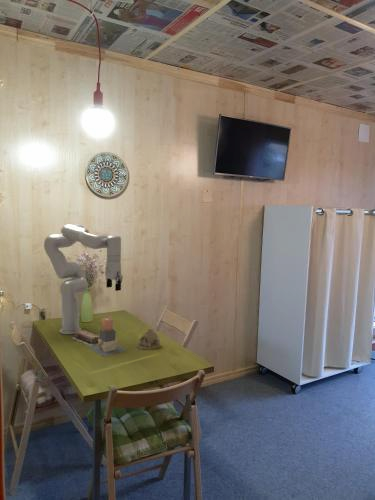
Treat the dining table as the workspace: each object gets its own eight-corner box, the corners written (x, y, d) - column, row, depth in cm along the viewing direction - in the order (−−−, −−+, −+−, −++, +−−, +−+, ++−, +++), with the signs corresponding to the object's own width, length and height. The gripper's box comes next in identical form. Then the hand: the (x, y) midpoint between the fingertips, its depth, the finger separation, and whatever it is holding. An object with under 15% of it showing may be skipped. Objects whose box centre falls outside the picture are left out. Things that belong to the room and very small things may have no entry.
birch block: (98, 348, 200) (98, 339, 199) (110, 345, 204) (110, 336, 204) (104, 352, 194) (104, 342, 194) (116, 349, 199) (116, 340, 198)
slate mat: (88, 348, 201) (88, 347, 201) (111, 343, 210) (111, 341, 210) (102, 358, 189) (102, 356, 189) (126, 352, 198) (126, 350, 198)
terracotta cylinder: (100, 329, 199) (100, 318, 198) (109, 328, 202) (109, 317, 201) (105, 332, 194) (105, 321, 194) (114, 330, 198) (114, 319, 197)
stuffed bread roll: (147, 341, 215) (147, 324, 214) (164, 345, 210) (164, 327, 209) (133, 349, 203) (133, 331, 201) (151, 353, 198) (151, 335, 197)
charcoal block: (99, 339, 199) (99, 329, 198) (109, 336, 203) (109, 327, 202) (105, 342, 195) (105, 333, 194) (115, 340, 198) (115, 330, 198)
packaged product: (71, 331, 214) (86, 328, 221) (71, 340, 214) (86, 336, 222) (89, 339, 202) (105, 335, 210) (89, 348, 203) (105, 344, 210)
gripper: (100, 256, 212) (100, 286, 213) (115, 260, 198) (115, 292, 200) (112, 256, 216) (111, 285, 218) (128, 259, 203) (127, 290, 205)
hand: (113, 288), depth 209 cm, fingers open, 9 cm apart
